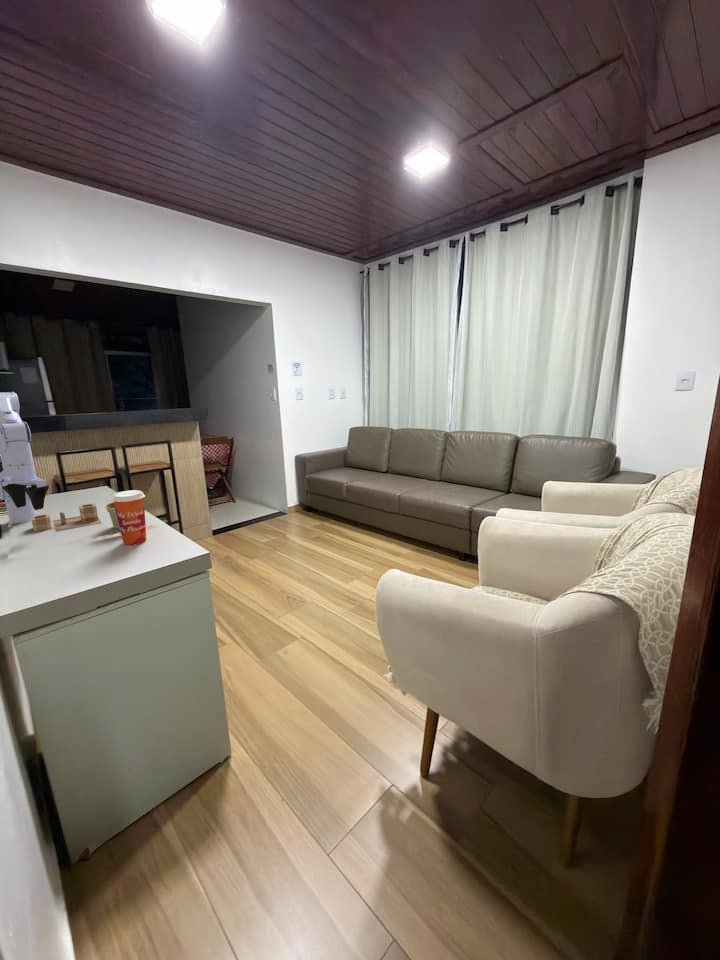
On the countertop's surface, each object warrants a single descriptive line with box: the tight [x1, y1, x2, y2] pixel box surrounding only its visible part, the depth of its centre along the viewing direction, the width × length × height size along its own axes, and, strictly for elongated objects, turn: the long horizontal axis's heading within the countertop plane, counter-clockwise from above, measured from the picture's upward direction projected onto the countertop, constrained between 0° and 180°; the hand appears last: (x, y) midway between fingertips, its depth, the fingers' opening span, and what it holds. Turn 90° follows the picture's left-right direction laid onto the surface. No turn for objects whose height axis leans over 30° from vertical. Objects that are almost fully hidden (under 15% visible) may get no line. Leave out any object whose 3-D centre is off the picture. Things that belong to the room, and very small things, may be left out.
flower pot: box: [104, 501, 121, 533], centre depth 122 cm, size 9×9×9 cm
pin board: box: [53, 511, 102, 533], centre depth 126 cm, size 14×12×5 cm
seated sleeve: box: [78, 502, 99, 522], centre depth 128 cm, size 4×4×5 cm
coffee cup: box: [111, 489, 147, 546], centre depth 111 cm, size 8×8×15 cm
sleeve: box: [31, 513, 53, 532], centre depth 120 cm, size 4×4×5 cm
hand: (30, 508), depth 114 cm, fingers open, 7 cm apart
